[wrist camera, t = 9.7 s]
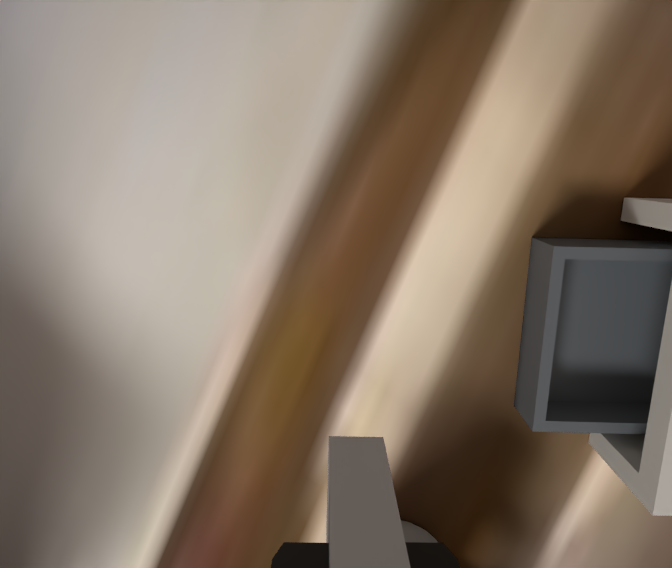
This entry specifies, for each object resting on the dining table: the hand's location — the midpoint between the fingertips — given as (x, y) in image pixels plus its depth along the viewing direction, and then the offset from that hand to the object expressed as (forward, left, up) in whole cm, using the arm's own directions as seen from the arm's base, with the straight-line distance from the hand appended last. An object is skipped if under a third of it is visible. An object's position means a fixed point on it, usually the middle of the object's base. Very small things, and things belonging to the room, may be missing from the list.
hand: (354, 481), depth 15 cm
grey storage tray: (+17, 0, -15) cm, 22 cm away
